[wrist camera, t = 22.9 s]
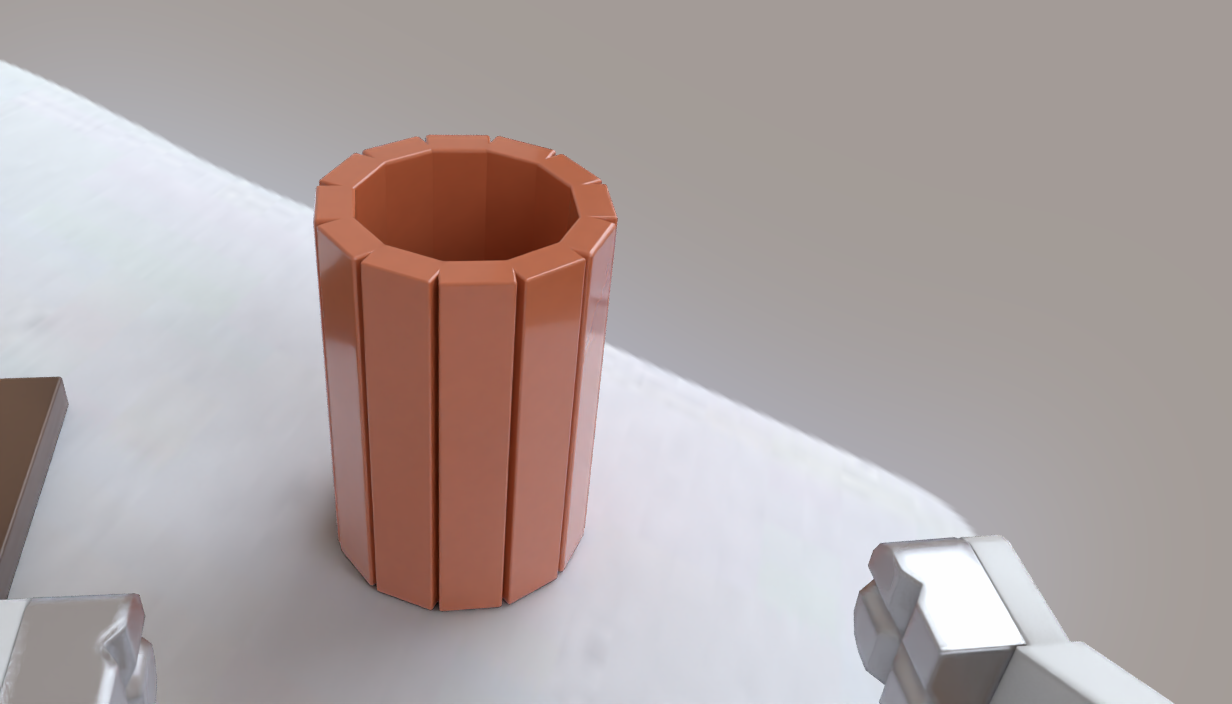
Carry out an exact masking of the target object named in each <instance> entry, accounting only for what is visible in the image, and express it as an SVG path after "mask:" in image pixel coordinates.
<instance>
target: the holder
mask: <svg viewBox="0 0 1232 704" xmlns="http://www.w3.org/2000/svg"><path fill="white" fill-rule="evenodd" d="M68 405H69V404H68V400H67V396H66V392H65V388H64V384H63V380H62V378H61V377H36V378H5V379H0V600H6V599H7V596H8V593H9V590H10V587H11V584H12V580H13V577H14V574H15V571H16V568H17V565H18V562H19V558H20V555H21V552H22V549H23V546H24V543H25V540H26V536H27V533H28V530H29V527H30V524H31V521H32V518H33V514H34V511H35V508H36V505H37V502H38V499H39V496H40V493H41V489H42V486H43V483H44V480H45V477H46V474H47V471H48V467H49V464H50V461H51V458H52V455H53V452H54V449H55V445H56V442H57V439H58V436H59V433H60V430H61V427H62V424H63V420H64V417H65V414H66V411H67V408H68Z"/></svg>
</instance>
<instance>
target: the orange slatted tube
mask: <svg viewBox="0 0 1232 704" xmlns="http://www.w3.org/2000/svg"><path fill="white" fill-rule="evenodd" d="M617 221H618V218H617V215H616V212H615V209H614V206H613V203H612V200H611V197H610V194H609V191H608V188H607V185H606V184H602V181H601V179H600V178H598V177H597V176H595V175H594V174H592V173H591V172H589V171H587V170H586V169H585V168H583V167H582V166H580V165H579V164H577V163H576V162H574V161H573V160H571V159H570V158H568V157H567V156H565V155H563V154H559V155H556V156H555V151H554V150H552V149H548V148H544V147H540V146H536V145H532V144H528V143H524V142H520V141H516V140H513V139H509V138H505V137H501V136H497V137H496V138H495V139H494V140H493V141H491V140H490V137H489V136H488V135H427V136H426V138H425V141H423V140H422V139H421V138H420V137H412V138H408V139H404V140H400V141H396V142H392V143H388V144H384V145H381V146H377V147H373V148H369V149H365V150H363V152H362V154H358V153H354V154H353V155H351V156H350V157H349V158H347V159H346V160H345V161H344V162H342V163H341V164H340V165H338V166H337V167H336V168H334V169H333V170H332V171H331V172H329V173H328V174H327V175H325V176H324V177H323V178H322V179H320V181H319V186H317V188H316V190H315V204H314V218H313V225H314V238H315V250H316V263H317V276H318V289H319V302H320V315H321V328H322V341H323V353H324V366H325V379H326V392H327V405H328V418H329V431H330V444H331V456H332V469H333V482H334V495H335V508H336V521H337V534H338V541H339V543H341V550H342V551H343V553H344V554H345V555H346V556H347V558H348V559H349V560H350V561H351V562H352V564H353V565H354V566H355V567H356V568H357V570H358V571H359V572H360V573H361V575H362V576H363V577H364V578H365V579H366V581H367V582H368V583H369V584H370V585H371V586H372V585H375V584H377V591H379V592H382V593H385V594H387V595H390V596H393V597H396V598H398V599H401V600H404V601H407V602H409V603H412V604H415V605H418V606H420V607H423V608H426V609H429V610H432V609H433V608H434V606H435V605H436V603H437V602H439V610H440V611H453V610H467V609H480V608H494V607H501V606H502V598H503V599H504V600H505V601H506V602H507V603H508V604H512V603H513V602H515V601H517V600H519V599H521V598H522V597H524V596H526V595H528V594H530V593H531V592H533V591H535V590H537V589H539V588H540V587H542V586H544V585H546V584H548V583H549V582H551V581H553V580H555V579H556V578H557V576H558V572H562V571H563V570H564V569H565V567H566V565H567V563H568V561H569V560H570V558H571V556H572V554H573V552H574V551H575V549H576V547H577V545H578V543H579V541H580V540H581V538H582V536H583V532H584V528H585V521H586V512H587V502H588V493H589V484H590V474H591V465H592V455H593V446H594V437H595V427H596V418H597V409H598V399H599V390H600V381H601V371H602V362H603V352H604V343H605V334H606V324H607V314H608V305H609V296H610V287H611V278H612V268H613V258H614V249H615V240H616V231H617Z"/></svg>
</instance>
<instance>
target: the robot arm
mask: <svg viewBox="0 0 1232 704" xmlns="http://www.w3.org/2000/svg"><path fill="white" fill-rule="evenodd" d="M868 567H869V569H870V571H871V573H872V576H873V578H874V579H873V580H872V581H871V582H870V583H869V584H868V585H866V586H865V587H864V588H863V589H862V590H860V591H859V594H858V598H857V601H856V605H855V609H854V635H855V640H856V644H857V648H858V652H859V655H860V657H861V660H862V662H863V665H864V667H865V670H866V671H868V672H869V673H870V674H871V675H873V676H874V677H875V678H877V679H878V680H879V681H880V682H882V683H883V684H884V685H885V686H884V689H883V692H882V695H881V698H880V701H879V703H880V704H1174V703H1173V702H1171V701H1170V700H1168V699H1167V698H1165V697H1164V696H1162V695H1161V694H1159V693H1158V692H1157V691H1155V690H1154V689H1152V688H1151V687H1149V686H1148V685H1146V684H1145V683H1143V682H1142V681H1140V680H1139V679H1137V678H1136V677H1134V676H1133V675H1131V674H1130V673H1128V672H1127V671H1125V670H1124V669H1122V668H1121V667H1119V666H1118V665H1116V664H1115V663H1114V662H1112V661H1111V660H1109V659H1108V658H1106V657H1105V656H1103V655H1102V654H1100V653H1099V652H1097V651H1096V650H1094V649H1093V648H1091V647H1090V646H1088V645H1087V644H1085V643H1084V642H1082V641H1077V642H1070V640H1069V639H1068V637H1067V635H1066V634H1065V632H1064V630H1063V629H1062V627H1061V626H1060V624H1059V622H1058V621H1057V619H1056V617H1055V616H1054V614H1053V612H1052V611H1051V609H1050V608H1049V606H1048V604H1047V603H1046V601H1045V600H1044V598H1043V596H1042V594H1041V593H1040V591H1039V590H1038V588H1037V586H1036V585H1035V583H1034V581H1033V580H1032V578H1031V576H1030V575H1029V574H1028V572H1027V570H1026V568H1025V567H1024V565H1023V563H1022V562H1021V560H1020V559H1019V557H1018V555H1017V554H1016V552H1015V550H1014V549H1013V547H1012V545H1011V544H1010V542H1009V541H1008V540H1007V539H1005V538H1004V537H1003V536H1001V535H992V536H991V535H990V536H975V537H961V538H955V537H953V538H940V539H927V540H915V541H902V542H889V543H880V544H879V545H878V546H877V547H876V548H875V549H874V550H873V553H872V555H871V558H870V561H869V564H868ZM144 620H145V613H144V609H143V605H142V602H141V598H140V595H139V594H134V593H133V594H109V595H85V596H62V597H38V598H27V599H6V600H0V704H156V691H157V674H156V663H155V656H154V652H153V647H152V644H151V643H150V642H148V641H147V640H146V639H144V638H143V637H142V631H143V626H144Z"/></svg>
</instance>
